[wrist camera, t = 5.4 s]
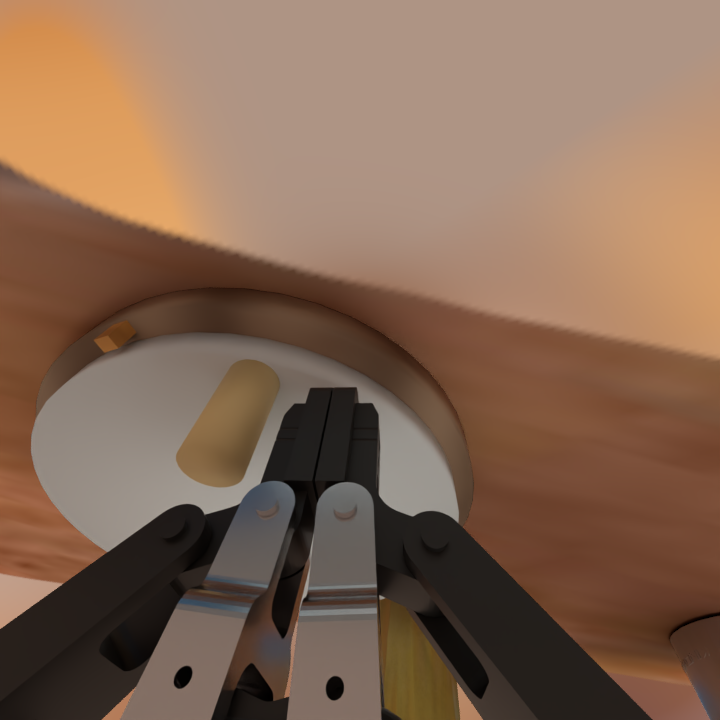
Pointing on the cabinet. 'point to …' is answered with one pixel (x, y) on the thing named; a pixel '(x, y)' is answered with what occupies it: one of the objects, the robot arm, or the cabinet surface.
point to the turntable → (206, 431)
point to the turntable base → (286, 325)
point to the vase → (414, 670)
